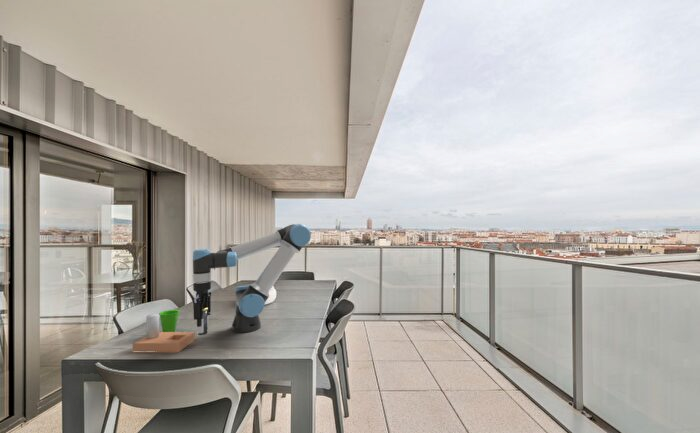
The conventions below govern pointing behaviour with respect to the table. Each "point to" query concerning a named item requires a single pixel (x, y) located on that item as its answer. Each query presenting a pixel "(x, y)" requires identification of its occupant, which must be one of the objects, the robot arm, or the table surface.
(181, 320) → the table surface
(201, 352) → the table surface
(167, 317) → the cup
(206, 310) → the pin
